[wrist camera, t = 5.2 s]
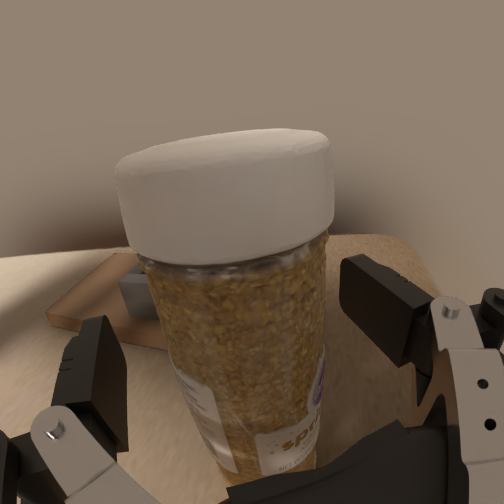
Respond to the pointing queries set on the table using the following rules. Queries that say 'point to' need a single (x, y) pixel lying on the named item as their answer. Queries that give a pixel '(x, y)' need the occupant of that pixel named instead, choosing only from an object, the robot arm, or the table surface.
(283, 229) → the sprinkles bottle
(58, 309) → the board
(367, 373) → the table surface
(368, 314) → the robot arm
